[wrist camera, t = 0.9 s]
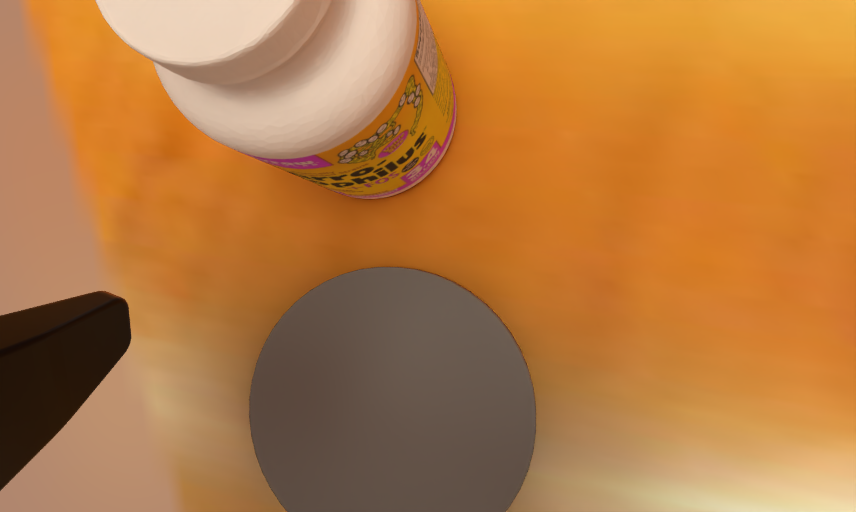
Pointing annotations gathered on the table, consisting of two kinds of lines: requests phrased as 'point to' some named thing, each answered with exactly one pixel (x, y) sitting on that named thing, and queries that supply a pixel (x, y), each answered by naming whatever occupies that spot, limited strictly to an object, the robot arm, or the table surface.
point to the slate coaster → (392, 399)
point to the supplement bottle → (305, 83)
